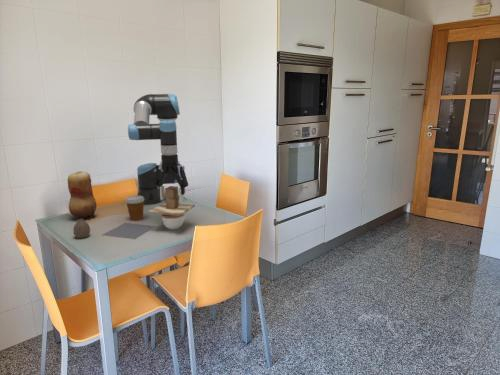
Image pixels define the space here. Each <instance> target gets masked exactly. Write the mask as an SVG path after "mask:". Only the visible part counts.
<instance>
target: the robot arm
mask: <svg viewBox="0 0 500 375" xmlns="http://www.w3.org/2000/svg"><path fill="white" fill-rule="evenodd" d="M133 113H134V116H133V123H132V124H128V126H127V134H128V139H129V140H130V141H143V140H144V141H149V140H150V141H151V140H155V141H157V140H159V141H160V153H161V156H160V158H161V160H160V163H159V164H157V163H156V162H149V163H145V164H141V165H139V166H138V167H137V168H136V175H137V183H138V184H137V185H138V192H137V195H138V196H143V197H144V199H145V200H144V205H154V204H155V205H156V204H158V203H160V202H161V203H162V201H163V200H166V195H165V185H169V184H171V185H172V184H173V185H174V184H178V200H179V203H182V202H183V201H184V197H185V196H184V195H185V194H186V189H185V188H186V187H188V186H189V183H188V182H189V181H188V179H187V175H186V172H185V166H184V165H183V164H181V163H180V161H179V157H178V156H179V155H178V144H177V143H178V138H177V137H178V136H177V123H176V120H177V119H178V116H179V115H180V114H181V112H180V106H179V101H178V98H177V95H176V94H172V93H155V94H153V93H149V94H145V95H142V96H141V97H139V98H138V99H137V100H136V101H135V102H134V105H133ZM150 116H156V118H157V120H158V121H159V123H150V118H151V117H150Z"/></svg>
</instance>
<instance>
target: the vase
mask: <svg viewBox="0 0 500 375" xmlns="http://www.w3.org/2000/svg"><path fill="white" fill-rule="evenodd" d="M72 230H73V235H74V236H75V238H76V239H81V240H82V239H86V238H88V237H89V236H90V234H91V227H90V225H89V223H88V222H87V221H86V220H85V218H78V219H77V220H76V223H75V224H74V226H73V229H72Z"/></svg>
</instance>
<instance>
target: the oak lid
mask: <svg viewBox="0 0 500 375" xmlns="http://www.w3.org/2000/svg"><path fill="white" fill-rule="evenodd" d="M164 193H165V202H163V203H162V204H159V205H158V206H155V207H154V208H152V209H151V210H148V214H157V215H162V214H164V215H174V216H181V215H182V214H184V215H185V213H187V212H188V211H190V210H192V209H193V208H194V207H195V206H196V204H193V203H192V204H191V203H182V202H180V201H179V186H171V185H170V186H168V187H164Z"/></svg>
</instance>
